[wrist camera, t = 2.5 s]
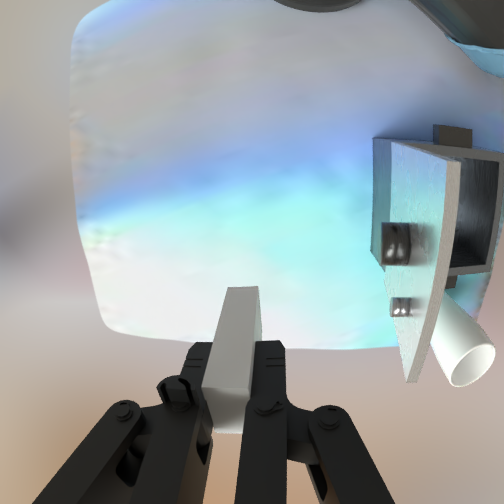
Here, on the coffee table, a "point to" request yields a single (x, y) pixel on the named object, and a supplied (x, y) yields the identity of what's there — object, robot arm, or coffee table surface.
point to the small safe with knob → (470, 196)
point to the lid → (418, 246)
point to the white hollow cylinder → (460, 344)
